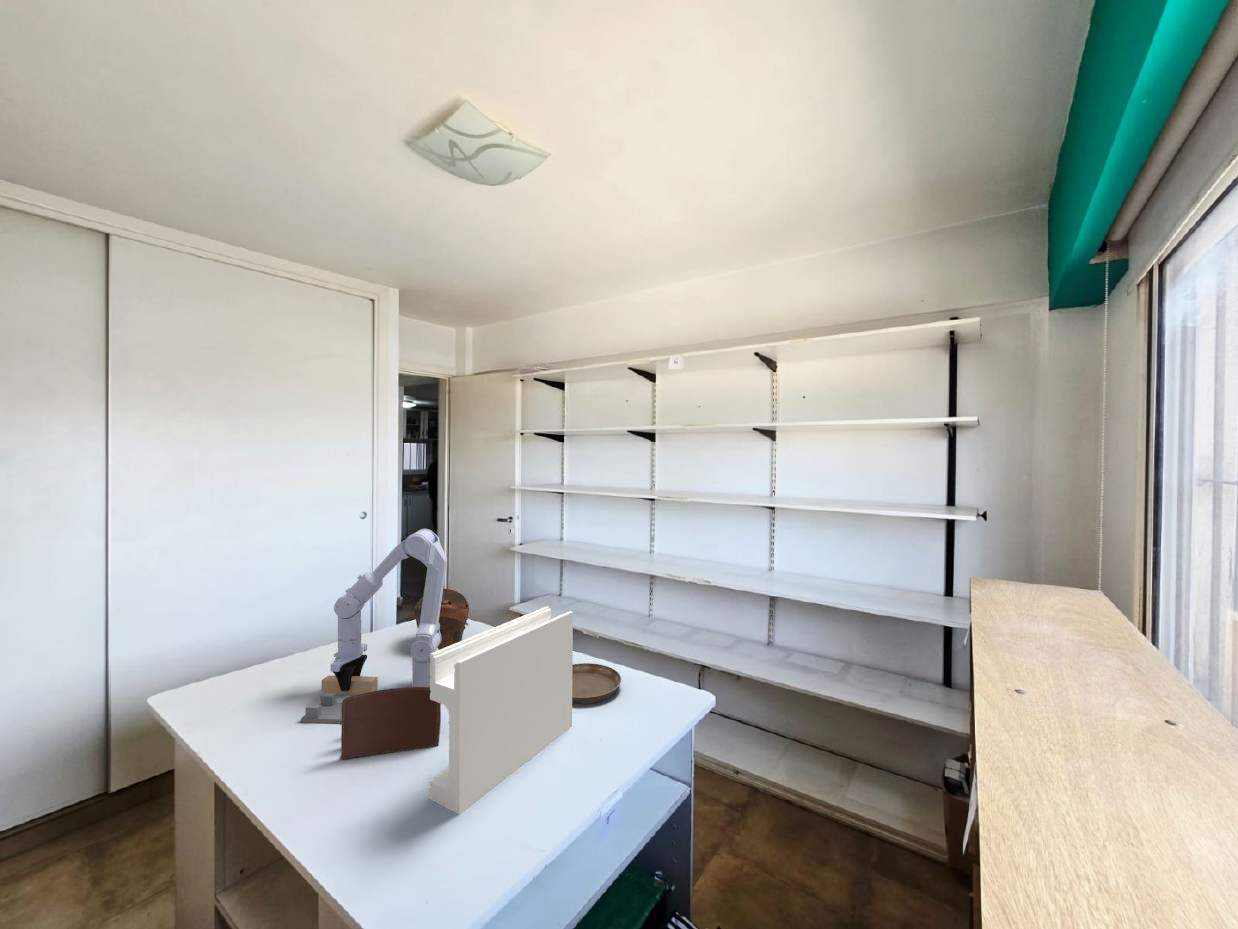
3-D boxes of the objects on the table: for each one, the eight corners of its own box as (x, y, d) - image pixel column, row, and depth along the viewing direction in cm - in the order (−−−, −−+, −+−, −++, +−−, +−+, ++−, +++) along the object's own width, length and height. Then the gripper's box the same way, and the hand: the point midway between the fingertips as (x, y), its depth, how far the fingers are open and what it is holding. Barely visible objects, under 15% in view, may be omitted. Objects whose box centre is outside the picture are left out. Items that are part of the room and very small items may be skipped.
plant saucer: (588, 717, 128) (588, 704, 128) (531, 692, 141) (531, 681, 141) (635, 687, 145) (635, 675, 145) (581, 668, 157) (581, 657, 157)
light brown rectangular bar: (377, 691, 141) (377, 676, 141) (371, 696, 138) (372, 681, 138) (328, 689, 141) (328, 675, 141) (321, 694, 138) (321, 680, 138)
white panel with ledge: (459, 814, 93) (459, 663, 92) (429, 799, 97) (430, 653, 96) (571, 726, 123) (572, 611, 122) (545, 717, 127) (546, 606, 127)
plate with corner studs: (382, 707, 131) (382, 694, 131) (365, 724, 123) (365, 710, 123) (321, 706, 132) (321, 692, 132) (300, 722, 124) (300, 708, 124)
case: (438, 662, 159) (439, 605, 159) (400, 649, 170) (400, 595, 170) (482, 646, 174) (483, 593, 174) (444, 634, 185) (445, 585, 185)
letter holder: (438, 747, 114) (439, 685, 114) (340, 761, 109) (340, 696, 108) (441, 724, 124) (441, 667, 124) (350, 736, 118) (350, 676, 118)
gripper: (350, 628, 147) (350, 674, 147) (318, 647, 132) (319, 699, 132) (374, 628, 146) (374, 675, 147) (345, 648, 132) (345, 699, 132)
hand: (349, 686), depth 140 cm, fingers open, 4 cm apart
